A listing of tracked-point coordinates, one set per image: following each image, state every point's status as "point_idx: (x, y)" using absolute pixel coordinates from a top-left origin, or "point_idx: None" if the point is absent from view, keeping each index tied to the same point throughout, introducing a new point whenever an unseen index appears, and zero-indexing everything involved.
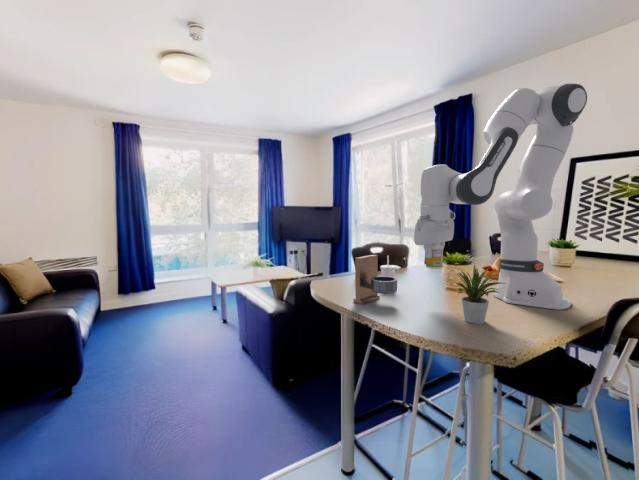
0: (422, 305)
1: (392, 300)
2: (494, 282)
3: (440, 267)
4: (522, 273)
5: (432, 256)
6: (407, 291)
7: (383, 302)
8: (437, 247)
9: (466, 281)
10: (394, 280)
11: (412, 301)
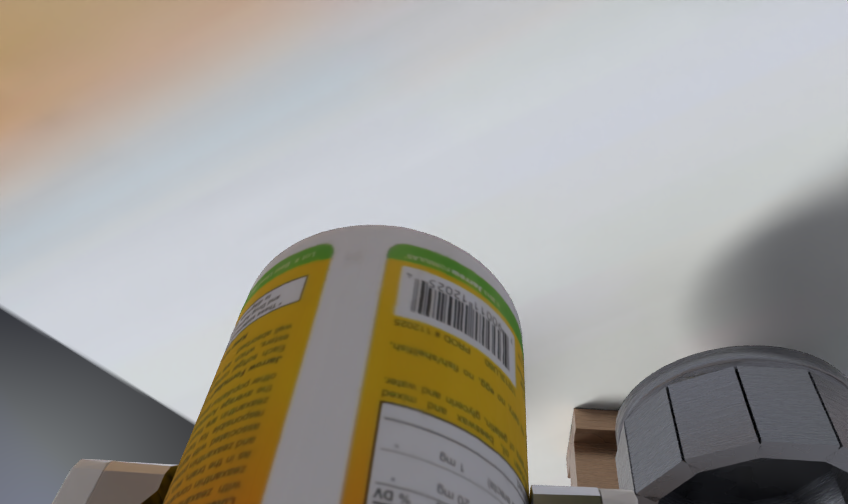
0: (519, 128)
1: (550, 340)
2: None
3: (418, 236)
4: None
5: (559, 497)
6: None
7: (645, 358)
8: None
9: None
10: (785, 450)
11: (466, 236)
